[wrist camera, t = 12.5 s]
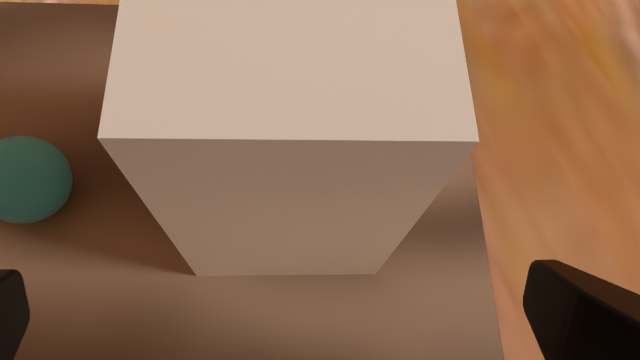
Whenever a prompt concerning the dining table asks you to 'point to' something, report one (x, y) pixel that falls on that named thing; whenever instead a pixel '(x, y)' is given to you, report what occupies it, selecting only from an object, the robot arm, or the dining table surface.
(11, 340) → the robot arm
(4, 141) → the marble
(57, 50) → the board
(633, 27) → the dining table surface
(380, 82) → the cream matte box
